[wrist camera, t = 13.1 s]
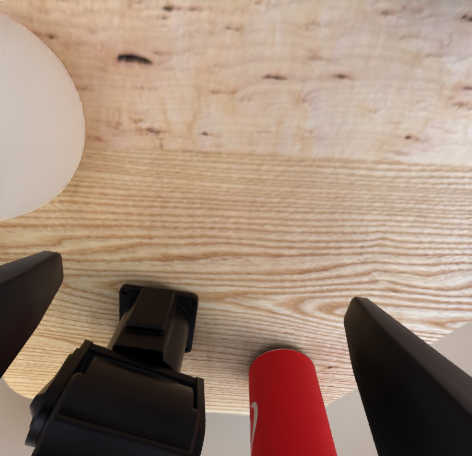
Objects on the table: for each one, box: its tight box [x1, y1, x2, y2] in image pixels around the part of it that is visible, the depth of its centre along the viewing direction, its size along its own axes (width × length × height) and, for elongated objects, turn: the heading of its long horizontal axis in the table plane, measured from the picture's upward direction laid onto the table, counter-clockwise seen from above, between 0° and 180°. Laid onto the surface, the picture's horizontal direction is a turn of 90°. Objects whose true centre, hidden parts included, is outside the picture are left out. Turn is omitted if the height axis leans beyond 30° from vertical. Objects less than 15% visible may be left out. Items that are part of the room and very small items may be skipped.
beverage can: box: [249, 349, 337, 456], centre depth 24 cm, size 6×6×12 cm
